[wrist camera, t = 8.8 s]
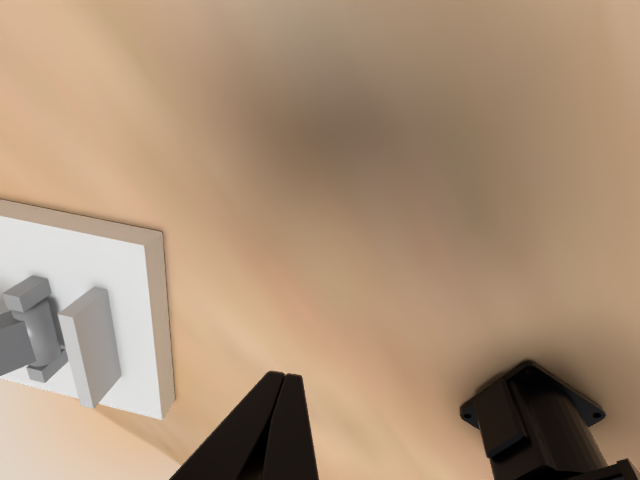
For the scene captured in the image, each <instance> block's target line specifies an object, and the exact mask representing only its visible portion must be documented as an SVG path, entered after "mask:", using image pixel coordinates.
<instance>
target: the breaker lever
mask: <svg viewBox="0 0 640 480" xmlns="http://www.w3.org/2000/svg"><path fill="white" fill-rule="evenodd" d="M60 355H61V349H60V345H59V341H58V337H57V334H56V330H55V326H54V322H53V318H52V314H51V310H50V306H49V303H48V300H47V299H46V298H44V299H43V300H41V301H40V302H38V303H37V304H35V305H34V306H32V307H31V308H30V309H28V310H27V311H25V312H24V313H23V312H19V311H15V310H11V311H9V312H6V313H2V314H0V376H2V375H5V374H7V373H9V372H12V371H14V370H17V369H19V368H22V367H24V366H26V365H31V366H35V367H39V366H45V365H48V364H50V363H52V362H54V361H55V360H57V359H58V358H59V356H60Z"/></svg>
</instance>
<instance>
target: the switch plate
mask: <svg viewBox="0 0 640 480" xmlns="http://www.w3.org/2000/svg"><path fill="white" fill-rule="evenodd" d="M44 298H46V299H47V300H48V303H49V306H50V310H51V314H52V318H53V322H54V326H55V330H56V334H57V337H58V341H59V345H60V349H61V355H60V356H59V358H58V359H57V360H55V361H54V362H52V363H50V364H48V365H45V366H39V367H35V366H31V365H26V366H24V367H22V368H19V369H17V370H14V371H12V372H9V373H7V374H5V375H2V376H0V379H4V380H8V381H12V382H16V383H20V384H23V385H28V386H31V387H35V388H39V389H43V390H47V391H51V392H55V393H59V394H62V395H66V396H70V397H74V398H78V399H79V402H80V405H81V406H84V407H88V408H92V409H94V408H95V407H96V405H97V404H101V405H105V406H109V407H113V408H117V409H121V410H125V411H129V412H133V413H136V414H140V415H144V416H148V417H152V418H156V419H160V420H162V419H163V418H164V416H165V415H166V413H167V412H168V410H169V408H170V407H171V405H172V404H173V402H174V401H175V392H174V379H173V366H172V353H171V340H170V327H169V314H168V301H167V288H166V275H165V261H164V248H163V235H162V232H160V231H155V230H150V229H145V228H140V227H135V226H130V225H125V224H120V223H115V222H110V221H106V220H101V219H96V218H91V217H86V216H81V215H76V214H71V213H66V212H61V211H56V210H51V209H46V208H41V207H36V206H31V205H26V204H21V203H16V202H11V201H7V200H2V199H0V314H2V313H6V312H9V311H11V310H15V311H19V312H23V313H24V312H25V311H27V310H28V309H30V308H31V307H32V306H34V305H35V304H37V303H38V302H40V301H41V300H43V299H44Z"/></svg>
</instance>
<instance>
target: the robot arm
mask: <svg viewBox="0 0 640 480" xmlns="http://www.w3.org/2000/svg"><path fill="white" fill-rule="evenodd" d="M527 369H531V370H527ZM459 412H460V416H461V418H462V419H463V420H464V421H466V422H468V423H469V424H471V425H472V426H474V427H476V428H477V429H479V430H480V432H481V437H482V441H483V445H484V449H485V454H486V456H487V458H489V460H490V464H491V468H492V472H493V476H494V480H640V473H639V471H638V470H637V469H636V468H635V467H634V465H633V464H632V463H631V462H630V460H629V459H628V458H627V459H624V460H620V461H617V464H614V465H611V466H608V465H607V463H606V461H605V459H604V457H603V455H602V453H601V451H600V449H599V448H598V446H597V444H596V442H595V440H594V438H593V436H592V434H591V432H590V430H589V429H588V427H590V426H592V425H594V424H595V423H597V422H599V421H601V420H602V419H604V418H605V416H606V415H605V412H604V410H603V409H602V407H601V406H599V405H598V404H596V403H595V402H593V401H592V400H590V399H589V398H587V397H586V396H584V395H583V394H581V393H580V392H578V391H576V390H575V389H573V388H572V387H570V386H569V385H567V384H566V383H564V382H563V381H561V380H560V379H558V378H557V377H555V376H554V375H552V374H551V373H549V372H548V371H546V370H545V369H543V368H542V367H540V366H539V365H537V364H536V363H534V362H532V361H526V362H523V363H521V364H520V365H519V366H517V367H516V368H515V369H513V370H512V371H511V372H509V373H508V374H506V375H505V376H504V377H502V378H501V379H500V380H498V381H497V382H495V383H494V384H493V385H491V386H490V387H489V388H487V389H486V390H485V391H483V392H482V393H480V394H479V395H478V396H476V397H475V398H474V399H472V400H471V401H470V402H468V403H467V404H465V405H464V406H463V407H461V408H460V411H459ZM466 413H468V414H466ZM169 480H319V477H318V470H317V464H316V458H315V452H314V446H313V440H312V434H311V428H310V421H309V415H308V409H307V403H306V397H305V391H304V385H303V379H302V376H301V375H297V374H290V373H287V374H286V375H285V374H284V373H283V372H277V371H269V372H267V373H266V374H265V375H264V377H263V378H262V379H261V380H260V381H259V382H258V383H257V384H256V385H255V386H254V387H253V389H252V390H251V391H250V392H249V393H248V394H247V395H246V396H245V397H244V398H243V399H242V401H241V402H240V403H239V404H238V405H237V406H236V407H235V408H234V409H233V410H232V411H231V413H230V414H229V415H228V416H227V417H226V418H225V419H224V420H223V421H222V422H221V423H220V425H219V426H218V427H217V428H216V429H215V430H214V431H213V432H212V433H211V434H210V435H209V437H208V438H207V439H206V440H205V441H204V442H203V443H202V444H201V445H200V446H199V447H198V449H197V450H196V451H195V452H194V453H193V454H192V455H191V456H190V457H189V458H188V460H187V461H186V462H185V463H184V464H183V465H182V466H181V467H180V468H179V469H178V471H177V472H176V473H175V474H174V475H173V476H172V477H171V478H170V479H169Z"/></svg>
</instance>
